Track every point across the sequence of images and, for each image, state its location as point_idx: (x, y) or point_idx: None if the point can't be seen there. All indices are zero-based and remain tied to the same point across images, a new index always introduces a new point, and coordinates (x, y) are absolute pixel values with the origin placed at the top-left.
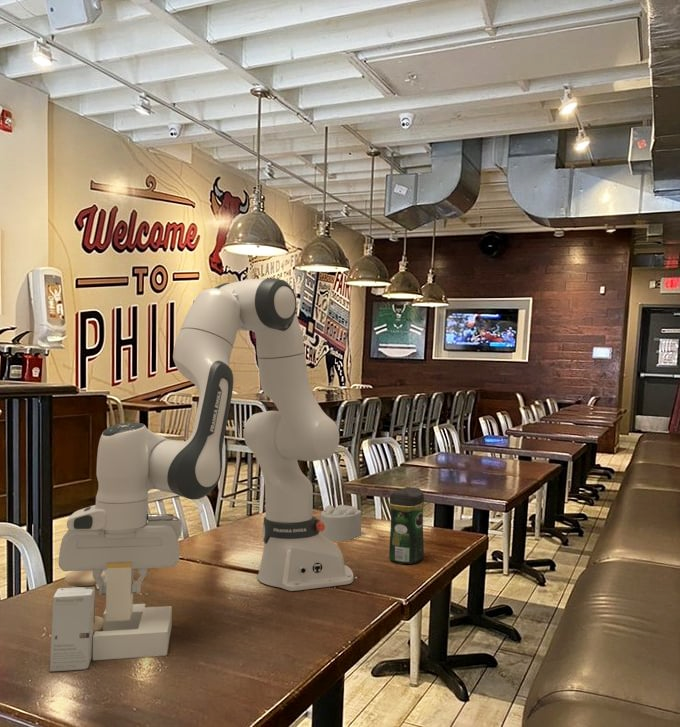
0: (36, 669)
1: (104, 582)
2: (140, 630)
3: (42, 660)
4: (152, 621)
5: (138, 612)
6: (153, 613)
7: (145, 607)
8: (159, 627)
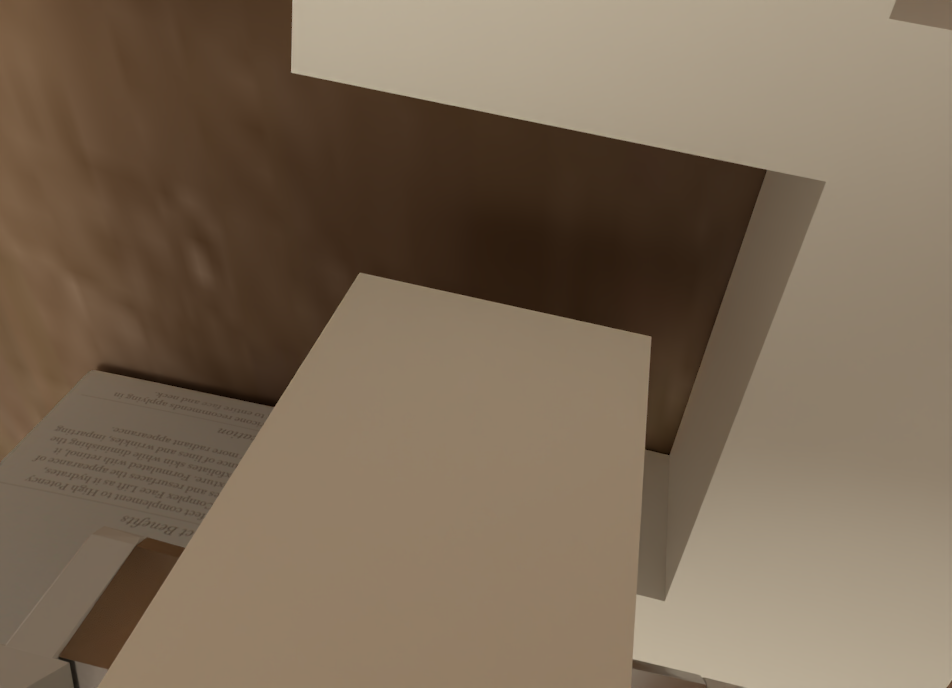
0: (23, 424)
1: (77, 671)
2: (681, 631)
3: (8, 319)
4: (849, 507)
5: (758, 167)
6: (941, 304)
7: (907, 22)
8: (871, 651)
